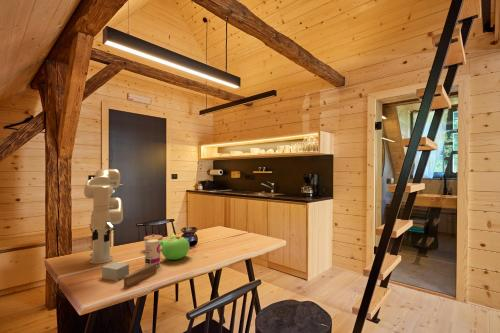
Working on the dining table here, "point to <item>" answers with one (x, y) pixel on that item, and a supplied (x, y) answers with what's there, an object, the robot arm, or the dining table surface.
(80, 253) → the dining table surface
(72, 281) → the dining table surface
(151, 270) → the fence
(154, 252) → the supplement can
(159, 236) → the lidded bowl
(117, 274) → the brick
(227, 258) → the dining table surface
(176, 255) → the green round body
